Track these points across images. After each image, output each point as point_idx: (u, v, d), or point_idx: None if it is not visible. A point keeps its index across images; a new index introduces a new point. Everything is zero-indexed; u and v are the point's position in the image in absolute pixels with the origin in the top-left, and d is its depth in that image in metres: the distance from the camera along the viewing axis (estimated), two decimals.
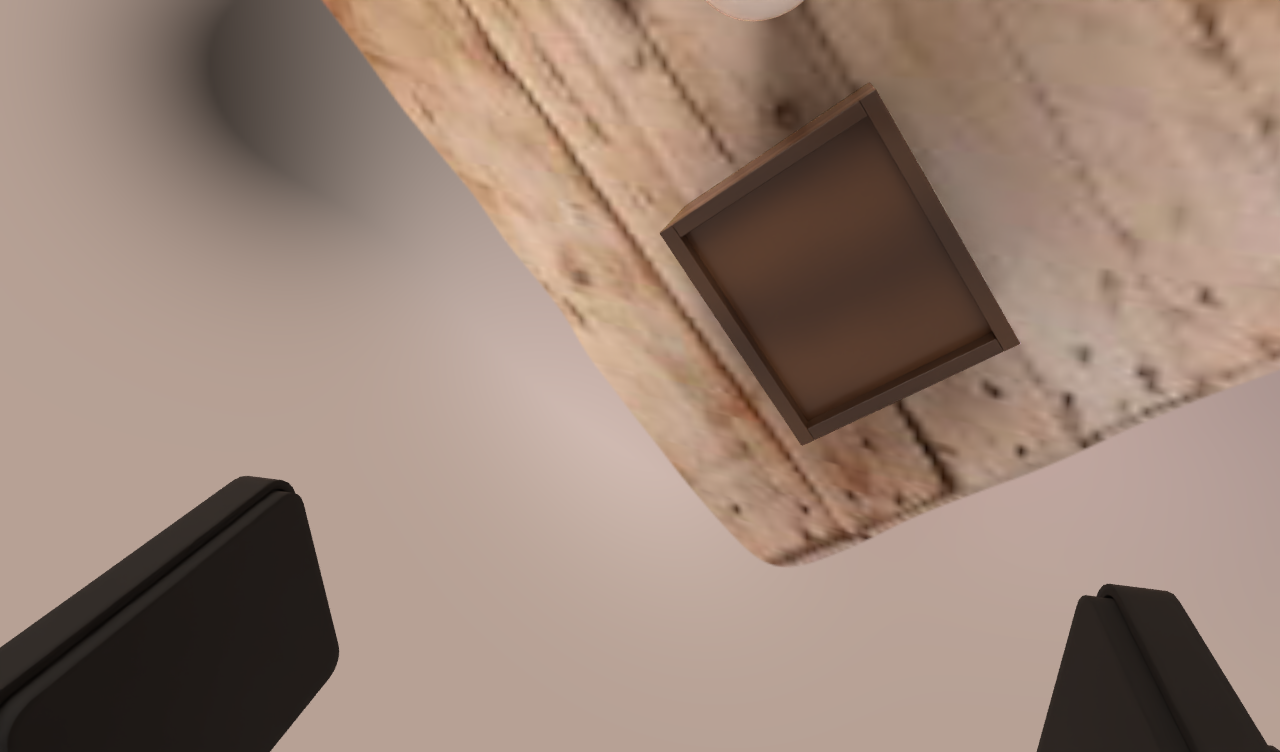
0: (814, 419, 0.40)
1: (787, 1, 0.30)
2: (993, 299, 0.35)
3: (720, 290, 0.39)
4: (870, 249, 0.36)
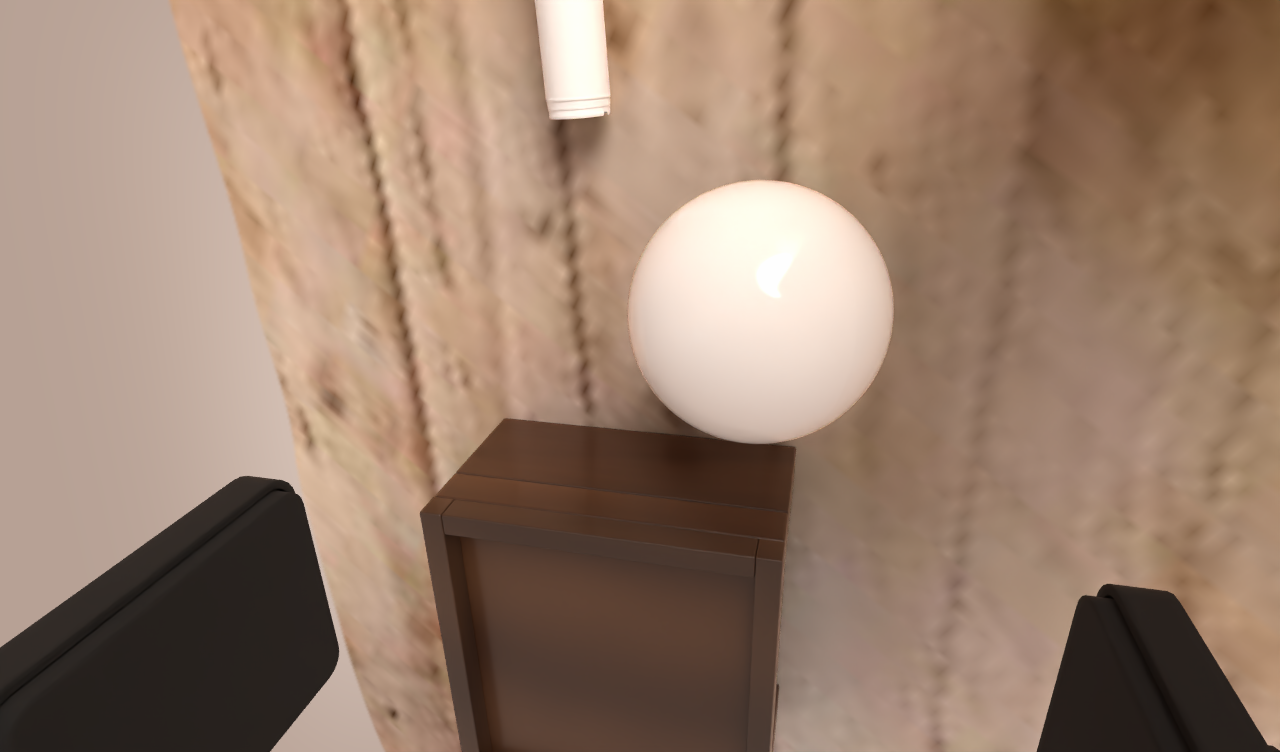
0: None
1: (736, 440, 0.18)
2: None
3: (467, 601, 0.27)
4: (668, 676, 0.26)
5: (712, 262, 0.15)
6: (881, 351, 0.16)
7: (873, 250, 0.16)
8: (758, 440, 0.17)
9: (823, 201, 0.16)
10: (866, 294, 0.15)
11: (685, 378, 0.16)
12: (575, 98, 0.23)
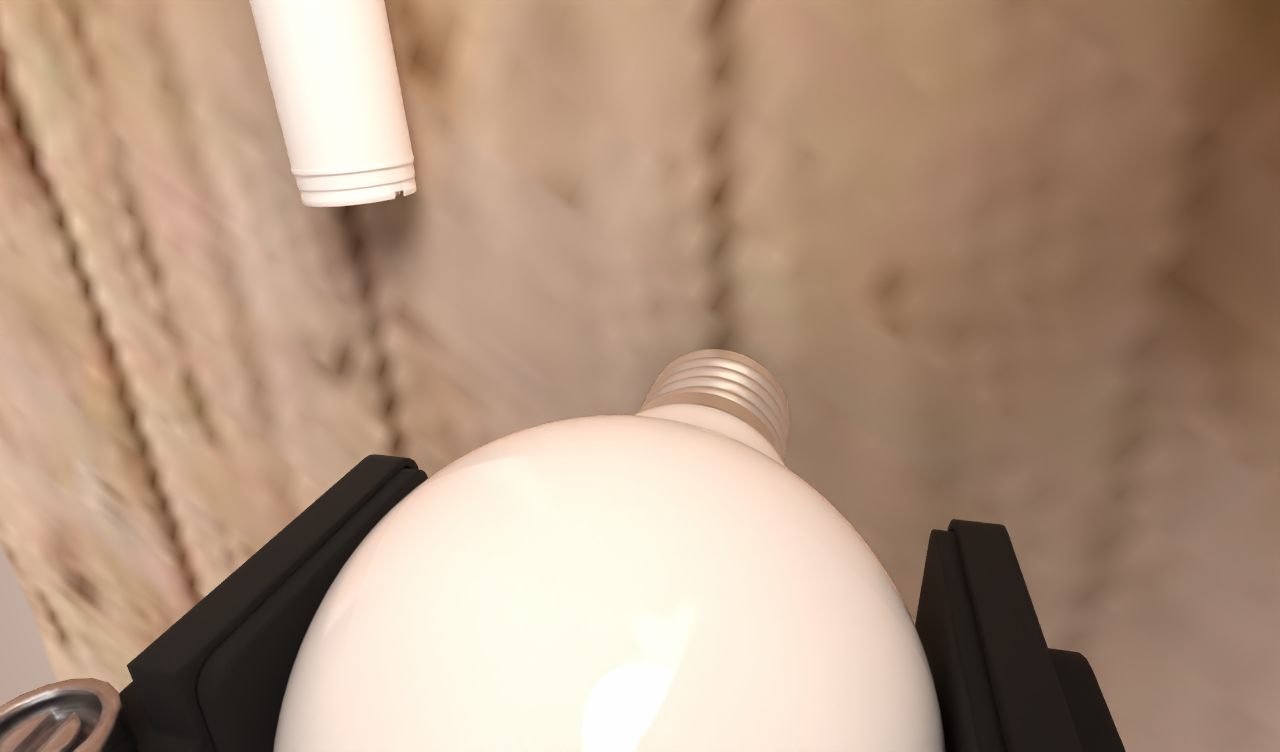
0: None
1: None
2: None
3: None
4: None
5: None
6: None
7: (897, 673, 0.06)
8: None
9: (757, 533, 0.06)
10: None
11: None
12: (332, 170, 0.12)
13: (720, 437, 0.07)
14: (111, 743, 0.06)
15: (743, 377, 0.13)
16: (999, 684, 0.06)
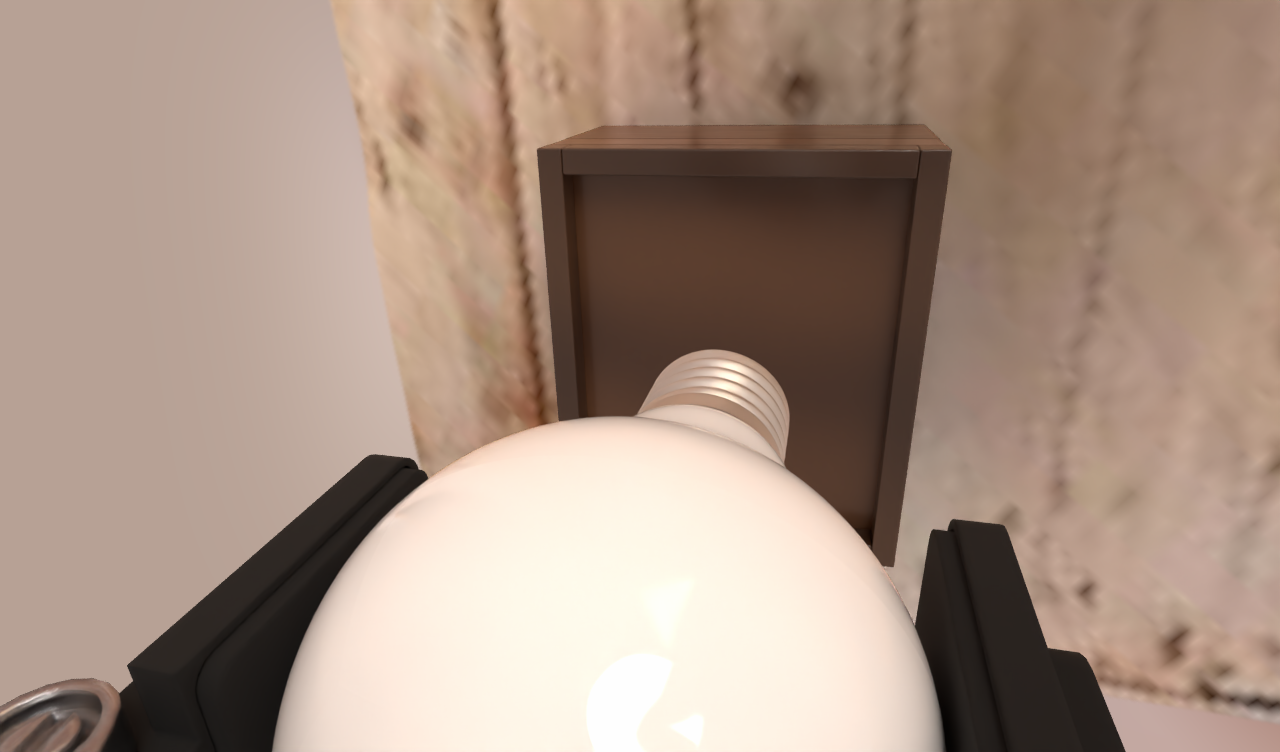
0: None
1: None
2: (900, 502, 0.25)
3: (577, 278, 0.25)
4: (798, 349, 0.24)
5: None
6: None
7: (898, 675, 0.06)
8: None
9: (757, 535, 0.06)
10: None
11: None
12: None
13: (720, 438, 0.07)
14: (111, 743, 0.06)
15: (743, 378, 0.13)
16: (999, 684, 0.06)
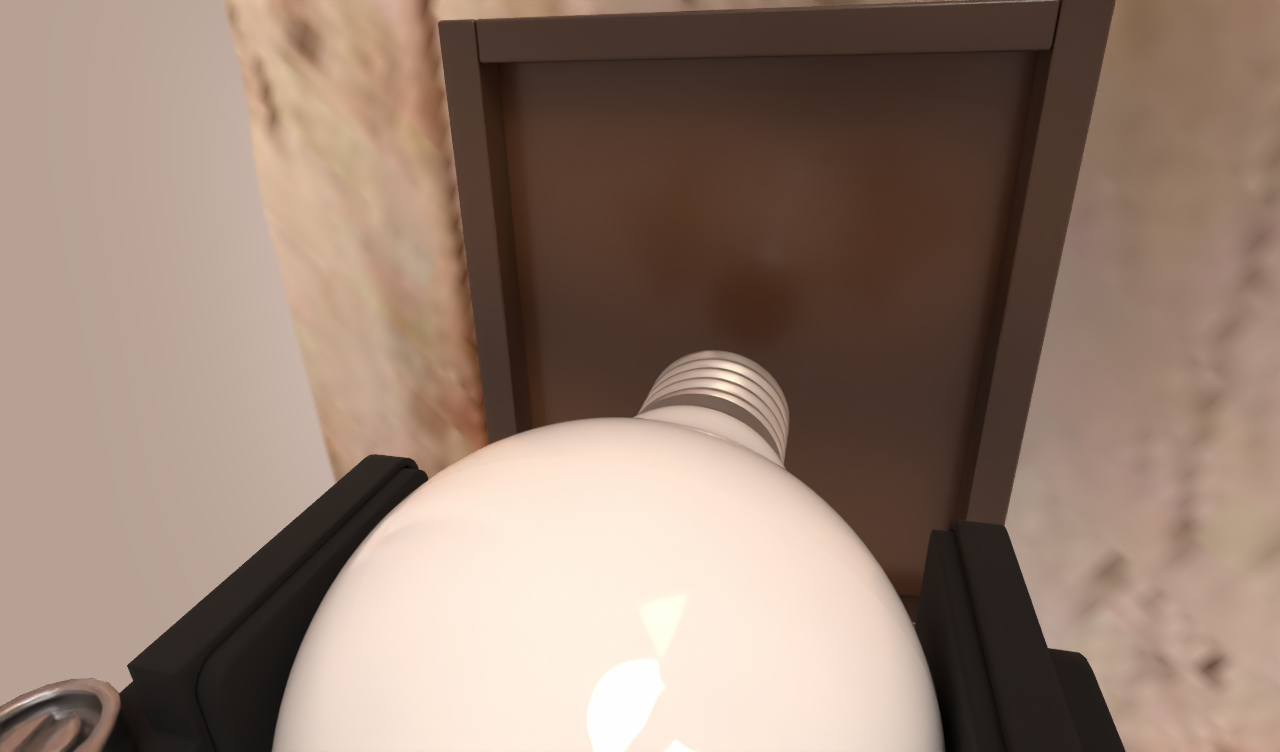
0: None
1: None
2: None
3: (511, 231, 0.17)
4: (840, 337, 0.16)
5: None
6: None
7: (897, 677, 0.06)
8: None
9: (756, 537, 0.06)
10: None
11: None
12: None
13: (719, 439, 0.07)
14: (111, 742, 0.06)
15: (743, 378, 0.13)
16: (999, 684, 0.06)
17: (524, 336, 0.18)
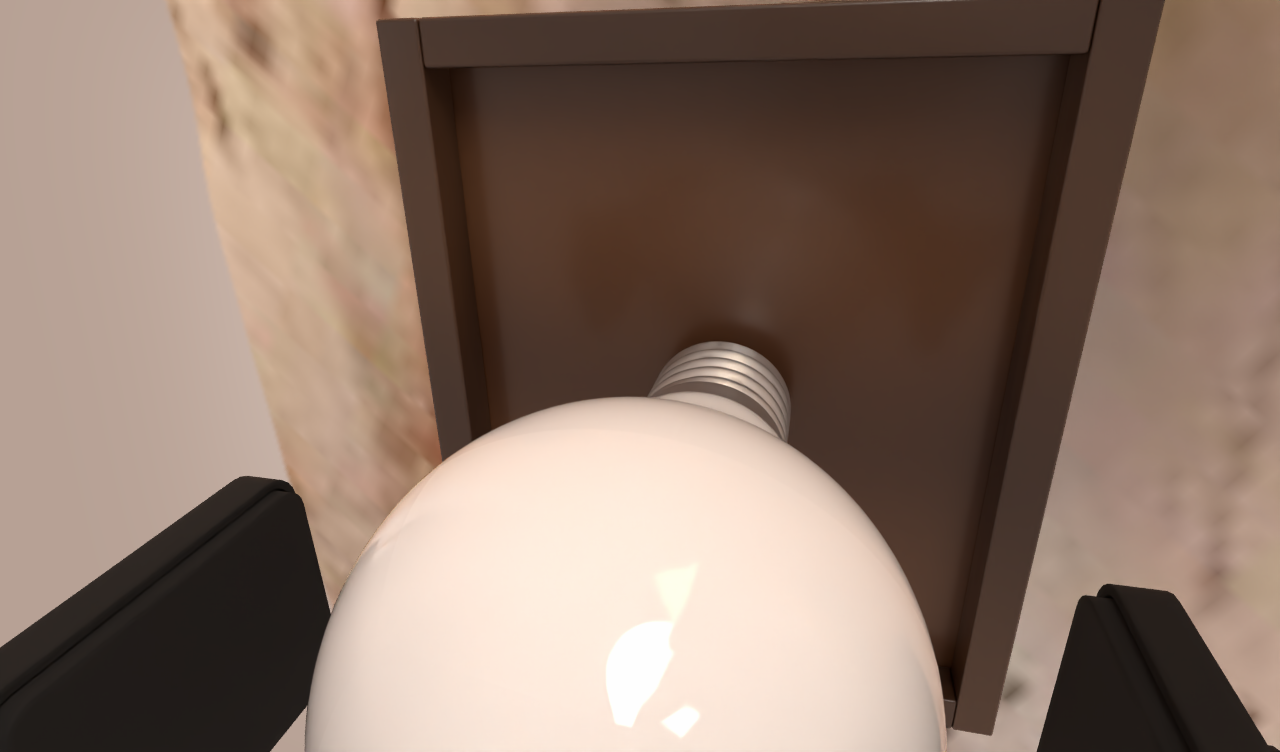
0: None
1: None
2: (1011, 638, 0.14)
3: (467, 257, 0.15)
4: (839, 378, 0.14)
5: (431, 732, 0.05)
6: None
7: (898, 632, 0.06)
8: None
9: (766, 501, 0.06)
10: None
11: None
12: None
13: (729, 416, 0.08)
14: None
15: (746, 368, 0.13)
16: None
17: (485, 373, 0.16)
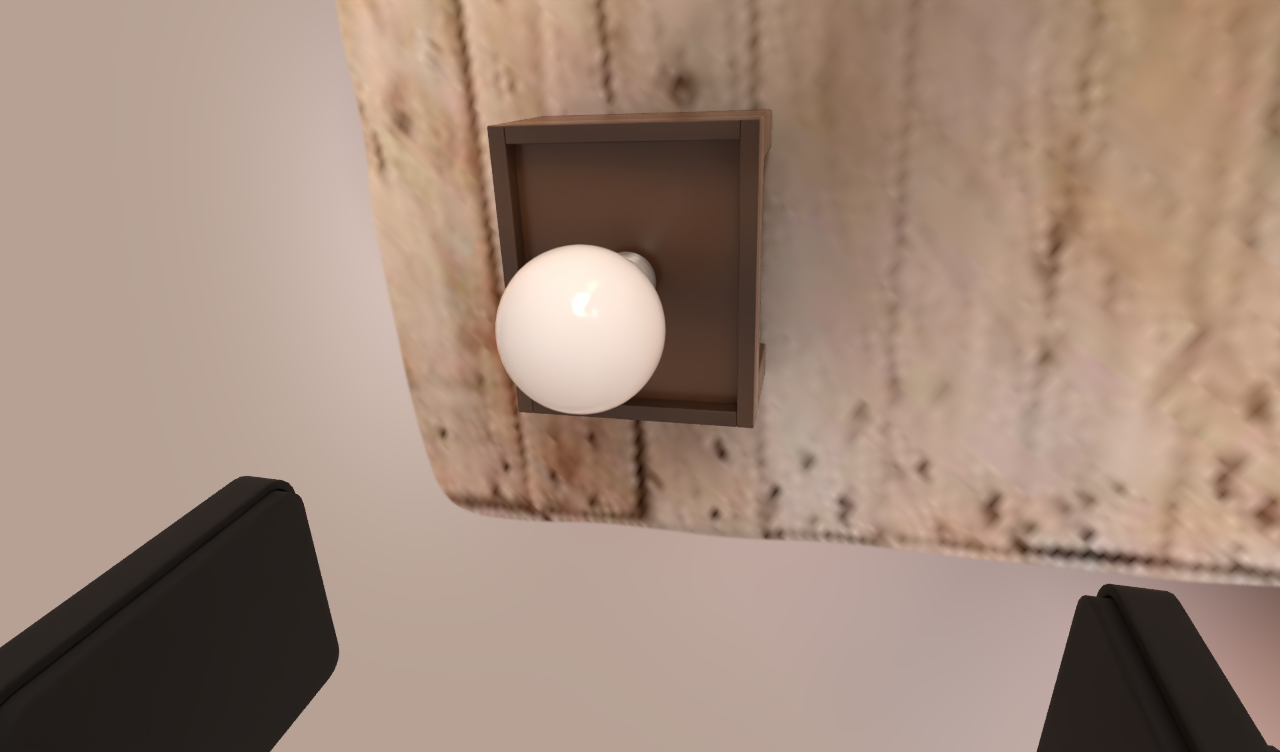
0: None
1: None
2: (753, 376, 0.34)
3: (520, 221, 0.35)
4: (676, 267, 0.34)
5: (534, 298, 0.25)
6: (648, 351, 0.26)
7: (641, 288, 0.26)
8: (577, 410, 0.27)
9: (609, 258, 0.26)
10: (630, 316, 0.25)
11: (524, 370, 0.26)
12: None
13: None
14: None
15: (633, 259, 0.33)
16: None
17: None
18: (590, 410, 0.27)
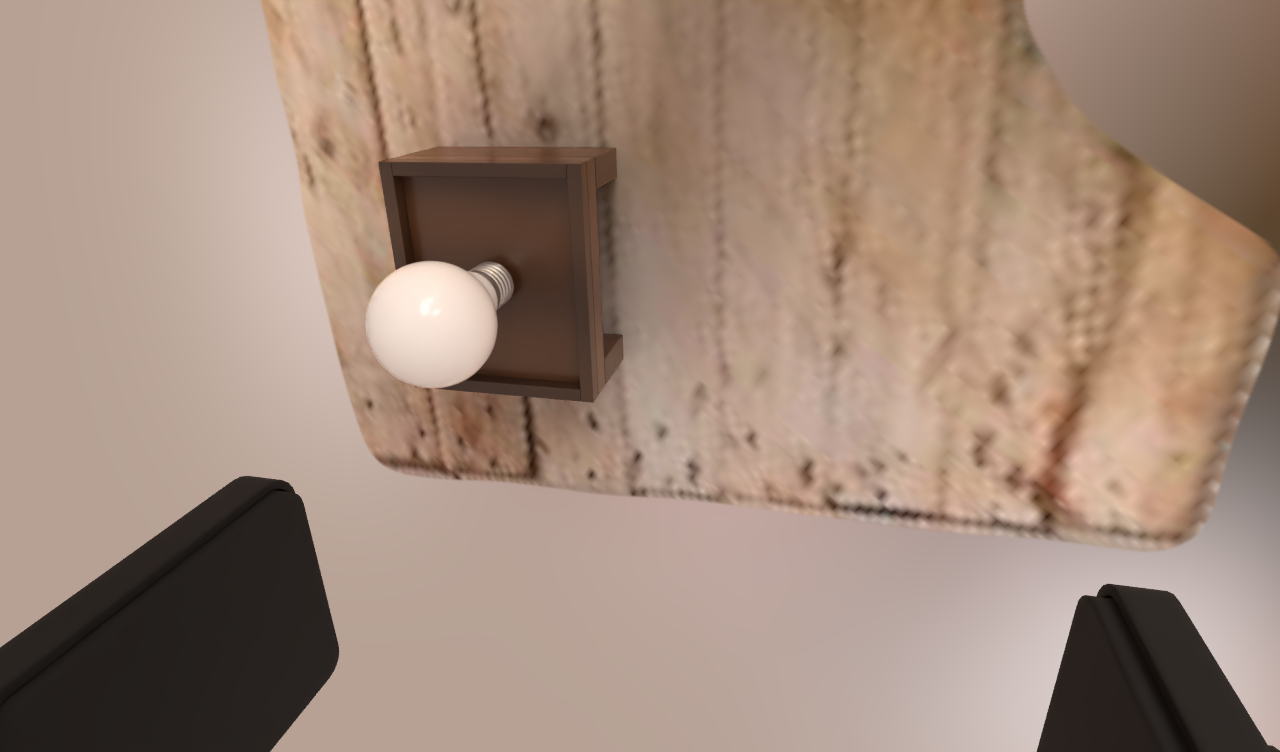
0: None
1: None
2: (590, 362, 0.43)
3: (409, 235, 0.44)
4: (531, 274, 0.43)
5: (387, 302, 0.34)
6: (475, 342, 0.35)
7: (470, 295, 0.35)
8: (424, 385, 0.36)
9: (447, 273, 0.35)
10: (458, 316, 0.34)
11: (382, 355, 0.35)
12: None
13: (452, 264, 0.37)
14: None
15: (492, 268, 0.42)
16: None
17: None
18: (435, 385, 0.36)
